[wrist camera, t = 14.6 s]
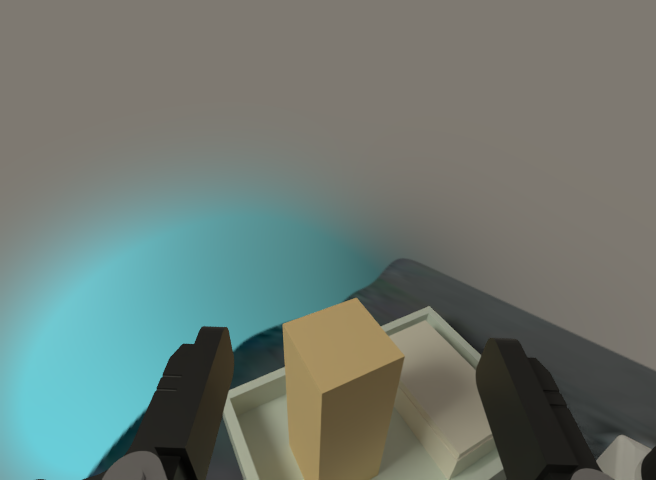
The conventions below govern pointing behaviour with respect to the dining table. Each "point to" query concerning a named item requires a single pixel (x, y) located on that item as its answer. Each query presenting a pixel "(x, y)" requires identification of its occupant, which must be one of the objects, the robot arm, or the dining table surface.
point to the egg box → (441, 400)
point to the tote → (401, 443)
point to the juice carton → (339, 391)
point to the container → (628, 460)
